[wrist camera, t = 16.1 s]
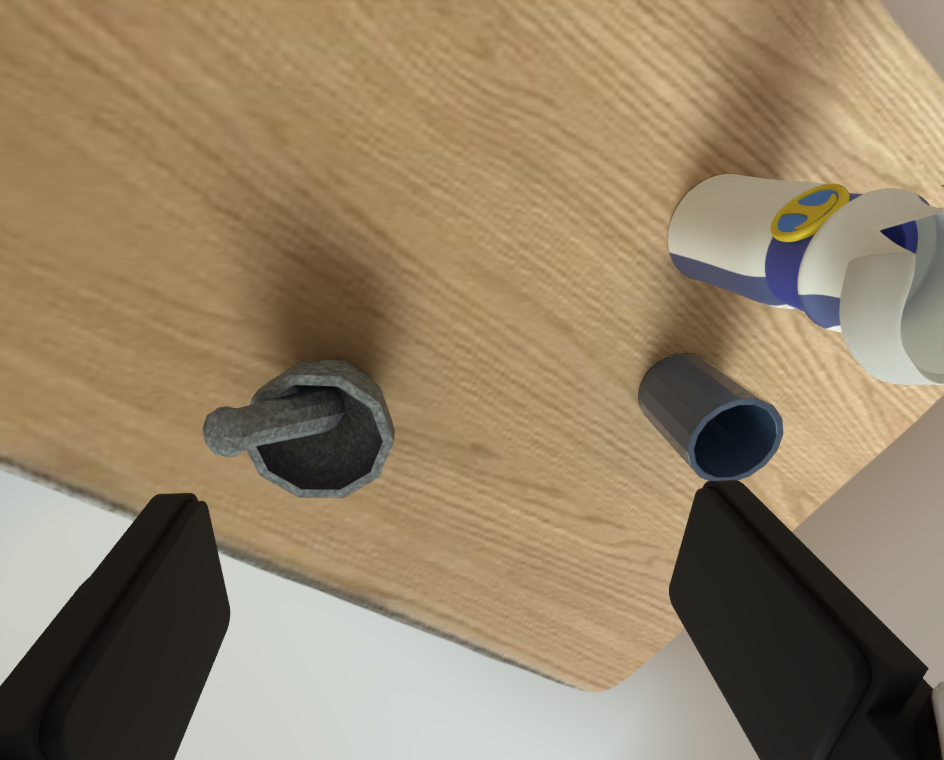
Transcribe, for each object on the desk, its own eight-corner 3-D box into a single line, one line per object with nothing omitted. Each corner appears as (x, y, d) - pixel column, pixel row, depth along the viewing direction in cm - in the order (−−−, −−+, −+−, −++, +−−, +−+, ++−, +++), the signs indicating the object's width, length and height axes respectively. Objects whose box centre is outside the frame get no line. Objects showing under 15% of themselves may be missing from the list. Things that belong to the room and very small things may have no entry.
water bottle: (636, 236, 36) (1013, 366, 13) (731, 142, 34) (1370, 103, 11) (699, 308, 39) (1099, 519, 16) (790, 225, 37) (1395, 332, 14)
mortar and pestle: (420, 387, 39) (421, 475, 28) (351, 466, 41) (327, 575, 30) (298, 300, 35) (244, 363, 24) (230, 392, 38) (153, 486, 27)
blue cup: (646, 352, 40) (701, 398, 32) (724, 353, 40) (796, 398, 33) (631, 425, 43) (678, 484, 35) (704, 424, 43) (766, 482, 36)
